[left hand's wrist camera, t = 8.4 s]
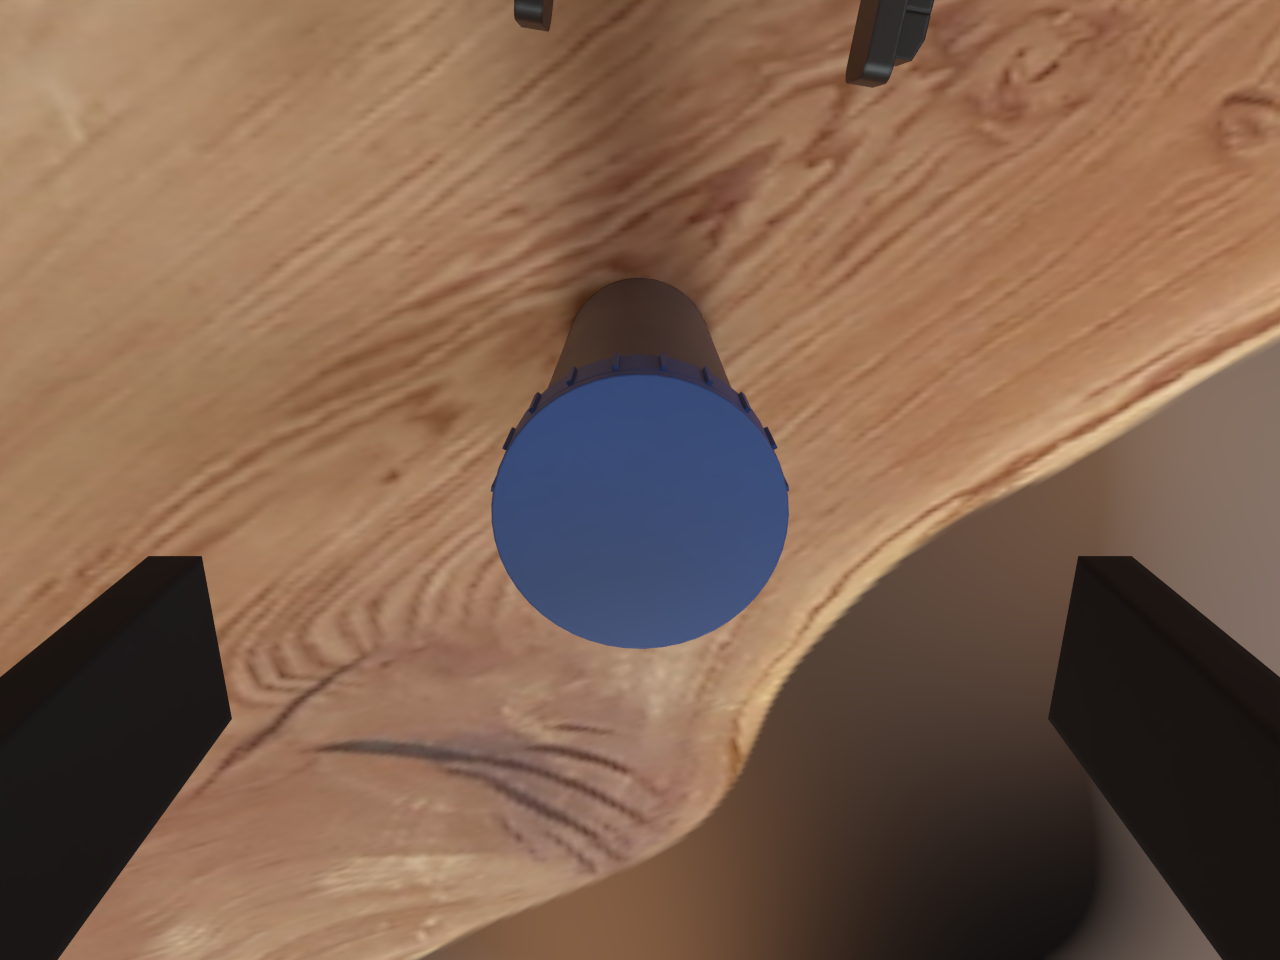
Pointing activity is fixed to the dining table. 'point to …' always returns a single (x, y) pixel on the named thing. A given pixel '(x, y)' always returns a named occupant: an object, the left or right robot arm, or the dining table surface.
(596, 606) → the lid
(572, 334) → the jar
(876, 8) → the right robot arm
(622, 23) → the dining table surface
